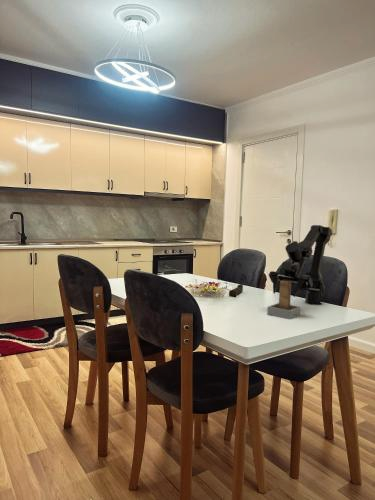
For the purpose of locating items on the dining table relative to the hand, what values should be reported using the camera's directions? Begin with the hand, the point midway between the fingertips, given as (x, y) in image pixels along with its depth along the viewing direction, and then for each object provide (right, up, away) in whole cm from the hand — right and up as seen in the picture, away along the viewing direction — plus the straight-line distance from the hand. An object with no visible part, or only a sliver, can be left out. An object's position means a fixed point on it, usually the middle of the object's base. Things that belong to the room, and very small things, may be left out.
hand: (283, 294), depth 162 cm
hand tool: (-15, -5, +45) cm, 47 cm away
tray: (+1, -9, +2) cm, 9 cm away
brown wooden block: (+1, -8, +2) cm, 8 cm away
